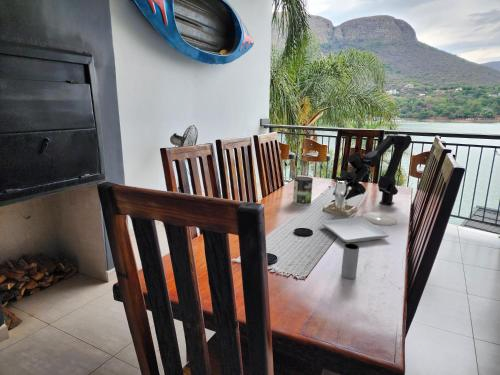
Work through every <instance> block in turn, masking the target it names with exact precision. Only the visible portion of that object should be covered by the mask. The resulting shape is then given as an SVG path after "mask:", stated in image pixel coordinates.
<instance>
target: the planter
mask: <svg viewBox="0 0 500 375" xmlns="http://www.w3.org/2000/svg"><path fill="white" fill-rule="evenodd" d="M342 252H343V253H342V264H341V272H340V274H341V277H343V278H345V279H347V280H353V279H356V278H357V272H358V261H359V253H360V246H359V245H358V244H356V243H354V242H351V243H347V242H345V244H344V245H343V251H342Z"/></svg>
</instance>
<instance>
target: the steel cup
mask: <svg viewBox="0 0 500 375" xmlns="http://www.w3.org/2000/svg"><path fill="white" fill-rule="evenodd" d="M344 181H345V180H344ZM344 181H337V182H336V183H335V185H334V190H335V195H334V202H335V206H333V209H337V210H341V211H347V209H346V204H347V201H348V200H345V197H346V196H347V195H348V193H349V192H350V187H349V183H348V182H344Z"/></svg>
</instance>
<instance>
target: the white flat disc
mask: <svg viewBox="0 0 500 375" xmlns="http://www.w3.org/2000/svg"><path fill="white" fill-rule="evenodd" d="M361 218H363V219H365V220H367V221H368V222H370V223H372V224H374V225H379V226H393V225H396V224H397V223H398V219H397V218H396V217H394V216H392V215H389V214H386V213H381V212H366V213H363V214H361Z"/></svg>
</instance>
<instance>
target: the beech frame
mask: <svg viewBox="0 0 500 375" xmlns="http://www.w3.org/2000/svg"><path fill="white" fill-rule="evenodd" d="M357 206H358V205H357ZM357 206H356V205H352V204H347V203H346V208H347V209H348V210H347V209H346V211H341V210H337V209H334V207H335V201H331V202H330V203H328V204H326V205H324V206H323V207H322V212H326V213H330V214H335V215H339V216H344V217H348V216H351V214H353V213H354V212H356V211H357V210H358V207H357Z"/></svg>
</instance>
